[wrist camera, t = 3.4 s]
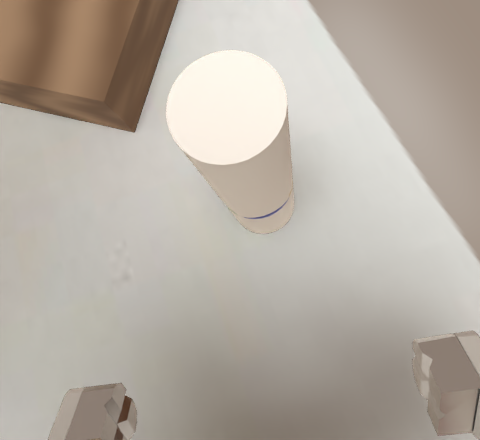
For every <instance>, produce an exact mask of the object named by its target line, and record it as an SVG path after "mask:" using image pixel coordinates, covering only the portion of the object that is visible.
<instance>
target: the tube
mask: <svg viewBox="0 0 480 440" xmlns="http://www.w3.org/2000/svg"><path fill="white" fill-rule="evenodd" d="M166 120H167V124H168V128H169V131H170V133H171V135H172V137H173V139H174V141H175V142H176V143H177V145H178V146H179V147H180V148H181V150H182V151H183V152H184V153H185V155H186V156H187V157H188V158H189V160H190V161H191V162H192V163H193V165H194V166H195V167H196V168H197V170H198V171H199V172H200V173H201V175H202V176H203V177H204V179H205V180H206V181H207V182H208V184H209V185H210V186H211V187H212V189H213V190H214V191H215V192H216V194H217V195H218V196H219V197H220V199H221V200H222V201H223V202H224V204H225V205H226V206H227V207H228V209H229V210H230V211H231V212H232V214H233V215H234V216H235V217H236V219H237V220H238V221H239V222H240V224H241V225H242V226H243V227H245V228H246V229H247V230H249V231H251V232H254V233H259V234H267V233H272V232H275V231H277V230H279V229H281V228H282V227H283V226H284V225H286V223H287V222H288V221H289V220H290V218H291V216H292V214H293V210H294V191H293V177H292V161H291V148H290V134H289V121H288V107H287V96H286V90H285V87H284V84H283V81H282V80H281V78H280V76H279V75H278V73H277V71H276V70H275V69H274V68H273V67H272V66H271V65H270V64H269V63H268V62H266V61H265V60H263V59H262V58H260V57H258V56H256V55H254V54H251V53H248V52H243V51H237V50H226V51H219V52H214V53H211V54H208V55H205V56H203V57H201V58H200V59H198V60H196V61H194V62H193V63H192V64H190V65H189V66H188V67H187V68H185V69H184V70H183V72H182V73H181V74H180V75H179V76H178V77H177V79H176V81H175V82H174V84H173V86H172V87H171V90H170V93H169V95H168V99H167V105H166Z"/></svg>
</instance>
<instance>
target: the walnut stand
mask: <svg viewBox="0 0 480 440" xmlns="http://www.w3.org/2000/svg"><path fill="white" fill-rule="evenodd" d="M177 3H178V0H0V102H1V103H5V104H9V105H14V106H18V107H23V108H27V109H32V110H36V111H41V112H45V113H50V114H54V115H59V116H63V117H68V118H72V119H77V120H81V121H86V122H90V123H95V124H99V125H104V126H108V127H113V128H117V129H122V130H126V131H131V132H135V129H136V126H137V123H138V120H139V117H140V114H141V111H142V108H143V105H144V102H145V99H146V96H147V93H148V90H149V87H150V84H151V81H152V78H153V75H154V72H155V69H156V66H157V63H158V60H159V57H160V54H161V51H162V48H163V45H164V42H165V39H166V36H167V33H168V30H169V27H170V24H171V21H172V18H173V15H174V12H175V9H176V6H177Z"/></svg>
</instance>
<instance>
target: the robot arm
mask: <svg viewBox="0 0 480 440" xmlns="http://www.w3.org/2000/svg"><path fill="white" fill-rule="evenodd" d="M412 349H413V351H414V353H415V357H414V358H413V359H412V368H413V373H414V378H415V381H416V384H417V387H418V390H419V392H420V395H421V396H422V397H424V398H425V399H426V400H428V404H427V412H428V414H429V416H430V419H431V421H432V424H433V426H434V428H435V431H436V433H437V435H438V436H441V435H452V434H463V433H473V435H474V436H475V437H476V438H477V439H479V440H480V337H479V336H478V334H477V333H476V332H474V331H467V332H461V333H454V334H451V333H450V334H444V335H438V336H432V337H426V338H419V339H414V340H413V347H412ZM125 393H126V388H125V387H124V385H123V384H122V383H116V384H108V385H99V386H91V387H83V388H76V389H70V390H69V391H68V392H67V393H66V394H65V396H64V399H63V401H62V404H61V406H60V409H59V412H58V414H57V417H56V419H55V422H54V424H53V427H52V430H51V432H50V435H49V437H48V440H130V438H131V437H132V436H133V435H134V433H135V430H136V425H137V410H136V406H135V403H134V402H133V400H132V399H131V398H129V397H127V396H125Z"/></svg>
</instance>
